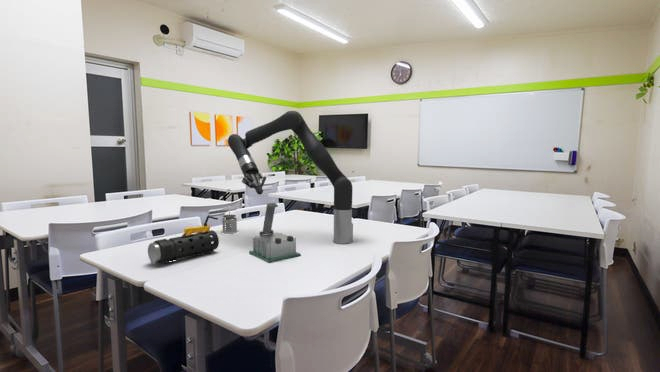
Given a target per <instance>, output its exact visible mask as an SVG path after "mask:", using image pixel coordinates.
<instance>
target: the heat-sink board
mask: <svg viewBox="0 0 660 372" xmlns="http://www.w3.org/2000/svg"><path fill="white" fill-rule="evenodd" d="M248 253H249V255H251V256H253V257H256V258H258V259H260V260H262V261H264V262H266V263H268V264H271V263H275V262H279V261H280V262H281V261H285V260H289V259H294V258H298V257H301V256H302V255H301V253H299V252H297V237H294V236H292V235H287V234H283V233H281V232H274V230H273V229H271V234H265V235H263V230H262V231H259V235H256V236H254V237H252V250H249V251H248Z"/></svg>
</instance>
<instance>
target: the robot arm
mask: <svg viewBox="0 0 660 372" xmlns="http://www.w3.org/2000/svg"><path fill="white" fill-rule="evenodd" d="M289 130H291V131H292V132H293V133H294V134H295V135H296V136H297V138H298V139H299V140H300V142H301V144H302V147H303V149H304V151H305V152H306V155H307V156H308V157H309V159H310V160H311V161H312V162H313V164H314V165H315V166H316V167H317V169H319V170H320V172H322V173H323V174H324V175H325V176H326V177H327V179H328V180H329V182H330V183H331V185H332V187H333V243H335V244H340V245H342V244H343V245H344V244H345V245H347V244H350V243H352V242H354V223H353V222H352V221H353V220H352V219H353V218H352V217H353V215H352V214H353V212H352V211H353V184H352V182H351V180H350V179H349V178H348V177H347V176H346V175H345V174H344V173H343V172H342V171H341V170H340V169H339V167H338V166H337V164H336V163H335V161H334V159H333V157H332V156H331V154H330V153H329V151H328V150H327V148H326V147H325V146H324V144H323V143H322V142H321V141H320V140H319V138H318V137H317V136H316V135H315V134H314V133H313V132H312V130H311V129H310V127H309V126H308V124H307V123H306V121H305V119H304V117H303V116H302V115H301V113H300V112H298V111H296V110H288V111H286V112H285V113H283V114H282V115H280V116H279V117H277V118H276V119H273V120H272V121H270V122H267V123H265V124H263V125H260V126H257V127H255V128H252V129H250V130H248V131H246V132H245V133H244V137H245V138H242V137H241V136H240V135H239V134H237V133H233V134H231V135H229V136H228V139H227V144H228V147H229V148H230V150H231V151H232V153H233V154H234V155H235V158H236V161H237V162H238V165H239V168H240V170H241V172H242V174H243V177H242V180H241V183H242V184H245V185H246V186H247V187H248V188H250V189H254V190H255V192H256V194H257V195H262V194H263V192H264V190H263V186H264V184H265V183H266V180H267V176H263V175H262V174H261V173H260V171H259V168H258V166H257V164H256V162H255V160H254V158H253V157H252V155H251V153H250V150H248V149H249V148H251V147H252V146H253V145H254V144H256V143H257V144H258V143H260V142H262V141H264V140H266V139H268V138H271V137H272V136H274V135H275V134H278V133H281V132H284V131H289Z"/></svg>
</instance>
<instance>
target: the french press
mask: <svg viewBox="0 0 660 372" xmlns="http://www.w3.org/2000/svg"><path fill="white" fill-rule="evenodd" d="M226 192H231V189H229V188H228V189H227V190H226ZM221 210H222V211H221V212H220V214H219V215H220V217H219V219H220V221H221V223H222V231H221V232H222V233H224V234H231V235H235V234H234V233H237V232H239V231H238V230H237V229H238V225H237V224H238V222H237V221H238V218H237V216H236V214H230V212H232V211H237V207H235V206H234V205H233V206H231V205H228V206H225V207H223V208H221ZM222 212H223V213H222ZM227 212H228V214H226V213H227ZM222 214H223V215H222ZM224 234H223V235H224ZM237 234H238V233H237Z"/></svg>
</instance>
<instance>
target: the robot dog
mask: <svg viewBox="0 0 660 372" xmlns="http://www.w3.org/2000/svg"><path fill="white" fill-rule="evenodd" d="M209 219H213V220H216V221H218V220H219V218H218V217H214V216H210V215H207V216H206V219H205V221H204V223H203V225H199V226H198V225H196V226H189V227H184V229H183V230H184V231H183V234H182V235H181V236H186V235H191V234H196V233H201V232H206V231H211V225H209V224H208V221H209Z"/></svg>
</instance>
